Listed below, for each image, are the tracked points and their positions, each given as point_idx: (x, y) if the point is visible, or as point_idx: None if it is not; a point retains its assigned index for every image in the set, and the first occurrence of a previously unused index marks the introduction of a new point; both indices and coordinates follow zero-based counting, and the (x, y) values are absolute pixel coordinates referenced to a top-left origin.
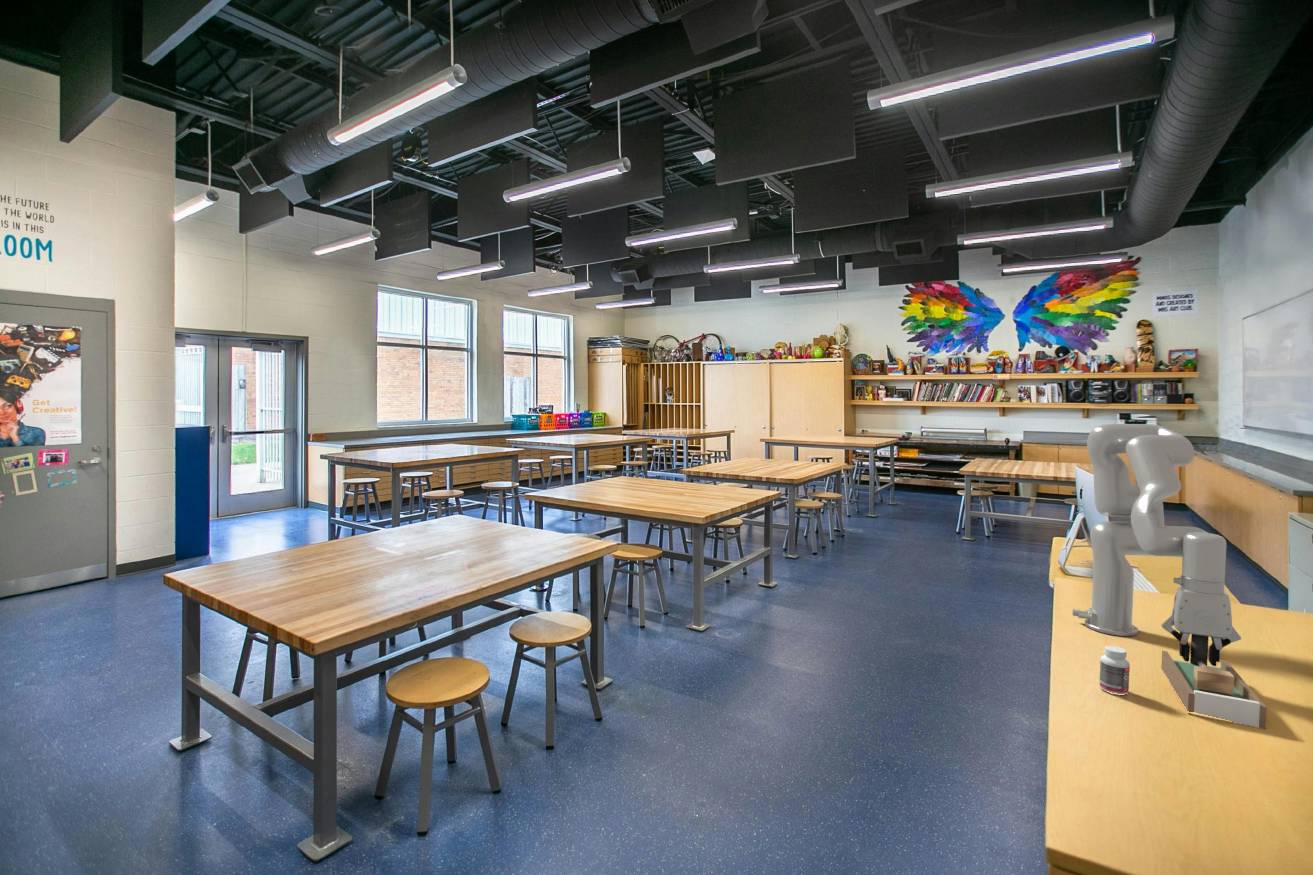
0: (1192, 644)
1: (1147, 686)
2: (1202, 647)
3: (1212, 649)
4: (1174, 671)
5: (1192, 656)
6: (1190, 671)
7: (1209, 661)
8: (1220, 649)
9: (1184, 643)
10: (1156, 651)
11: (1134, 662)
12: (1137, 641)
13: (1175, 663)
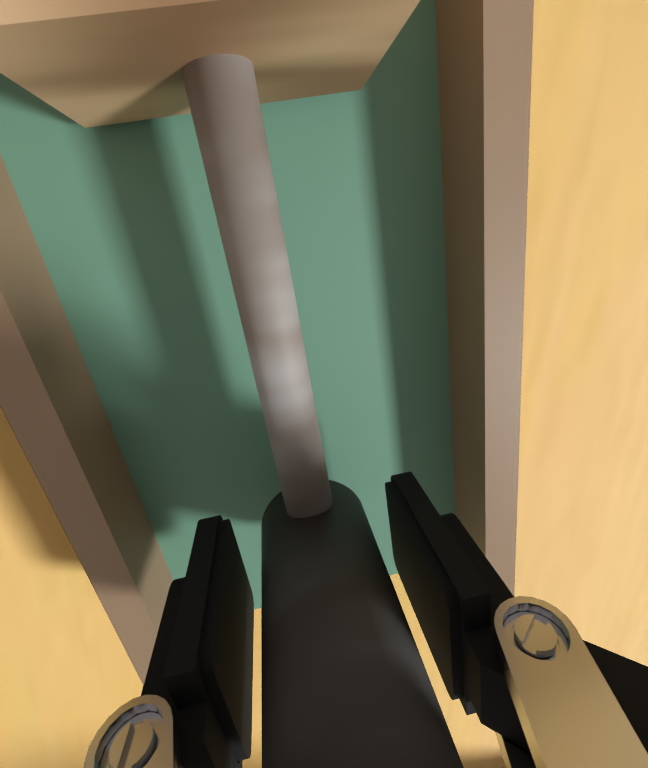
0: (419, 656)
1: (581, 112)
2: (320, 644)
3: (215, 668)
4: (521, 141)
5: (371, 536)
6: (352, 435)
7: (247, 578)
8: (123, 708)
9: (508, 617)
10: (440, 694)
11: (558, 498)
12: (492, 742)
13: None
